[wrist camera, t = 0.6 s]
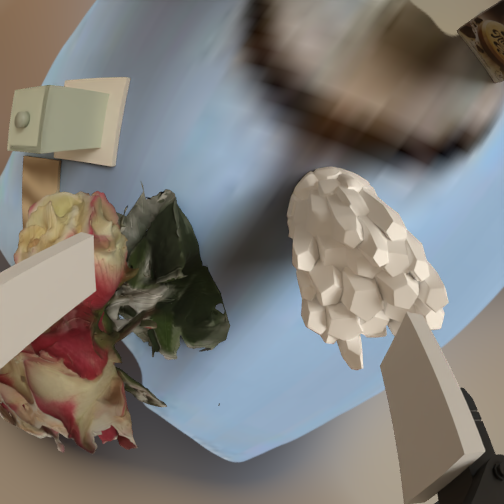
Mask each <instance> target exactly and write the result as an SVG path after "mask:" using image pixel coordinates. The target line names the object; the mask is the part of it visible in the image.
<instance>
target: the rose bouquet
mask: <svg viewBox="0 0 504 504" xmlns="http://www.w3.org/2000/svg"><path fill="white" fill-rule="evenodd" d="M141 184H142V183H141ZM142 187H143V185H142ZM143 191H144V189H143ZM91 195H92V196H90V195H89V193H87V194H86V193H84V192H78V193H77V194H75V195H74V194H71V193H69V192H58V191H56V193H55V194H51V195H46V196H44V197H42V198H41V199H40V200H39V201H38V202H35V203H34V204H33V205H31V206H30V207H29V210H28V221H27V222H26V228H24V229H22V230H21V232H20V233H19V244H18V249H17V251H16V253H14V261H15V263H16V264H17V263H19V262H21V261H23V260H25V259H27V258H29V257H31V256H33V255H35V254H37V253H39V252H41V251H43V250H45V249H47V248H49V247H51V246H53V245H55V244H57V243H59V242H61V241H63V240H65V239H67V238H69V237H71V236H74V235H76V234H78V233H80V232H83V233H87V234H90V235H94V265H95V282H96V291H95V292H94V293H93V294H91V295H90V296H89V297H87V298H86V299H85V300H83V301H82V302H81V303H80V304H78V305H77V306H76V307H74V308H73V309H72V310H71V311H69V312H68V313H67V314H66V315H64V316H63V317H62V318H61V319H59V320H58V321H57V322H56V323H54V324H53V325H52V326H51V327H49V328H48V329H47V330H46V331H44V332H43V333H42V334H41V335H40V336H38V337H37V338H36V339H35V340H34V341H32V342H31V343H30V344H29V345H28V346H26V347H25V348H24V349H23V350H22V351H21V352H19V353H18V354H17V355H16V356H15V357H14V358H13V359H11V360H10V361H9V362H8V363H7V364H6V365H5V366H3V367H2V368H1V369H0V405H1V406H0V415H1V416H2V418H4V420H5V421H7V422H9V423H11V424H13V425H15V426H17V427H19V428H21V429H24V430H25V431H26V432H27V433H30V434H33V435H34V436H36V437H38V438H43V437H45V436H47V437H54V438H55V442H56V443H57V445H58V450H59V451H61V452H64V445H63V444H62V443H61V442H60V441H59V433H60V434H62V435H63V436H65V437H67V438H68V439H70V438H72V439H74V441H75V442H76V444H77V445H79V446H80V447H81V448H82V449H84V450H86V451H87V452H89V453H91V454H94V453H95V451H96V450H95V449H96V448H97V445H96V443H95V442H94V440H95V438H94V436H96V435H98V436H99V437H100V439H101V440H102V443H103V444H104V443H106V442H107V441H111V440H114V439H118V441H119V444H120V446H122V447H124V448H125V449H130V448H138V447H137V445H136V444H135V441H134V439H133V436H132V435H133V431H132V428H131V425H132V422H131V418H130V413H129V410H128V408H127V403H126V396H125V390H126V391H128V392H130V393H132V394H133V395H134V396H135V397H136V398H137V399H138V400H140V401H142V402H144V403H147V404H150V405H154V406H158V407H167V405H166V404H165V403H164V402H162V401H160V400H159V399H157V398H156V396H155V395H154V394H152V393H151V392H150V391H149V390H148V389H147V388H145V387H144V386H143V385H142V384H140V383H139V382H137V381H135V380H134V379H132V378H131V377H130V376H128V375H127V374H126V373H125V372H124V371H123V370H121V369H120V368H117V367H115V365H114V363H122V361H121V357H120V355H119V353H118V352H117V350H116V349H115V347H114V345H115V344H116V342H118V341H120V340H122V339H123V338H125V337H126V336H127V335H129V334H130V333H131V332H132V331H133V332H134V333H135V334H136V335H137V336H138V337H139V338H141V339H142V341H143V342H149V343H148V344H149V346H152V357H154V353H155V351H156V352H158V351H159V352H160V353H161V354H163V356H164V357H165V359H168V360H171V359H174V360H175V359H177V356H176V353H177V350H178V348H179V346H180V341H179V339H180V336H182V339H184V342H185V344H186V345H187V347H189V348H192V349H195V348H201V347H205V349H203V350H200V351H206V350H207V351H208V350H212V349H213V348H214V347H216V346H217V345H218V344H219V343H220V342H223V341H225V340H226V338H227V333H228V330H229V328H230V324H229V321H228V317H227V314H226V311H225V312H224V314H222V313H221V312H219V311H218V310H217V309H215V306H216V305H217V304H219V303H222V304H223V301H222V297H221V293H220V291H219V290H218V288H217V286H216V284H215V282H214V281H213V279H212V277H211V275H210V273H209V271H208V267H206V266H202V261H201V258H200V253H199V245H198V242H197V239H196V237H195V234H194V231H193V228H192V226H191V224H190V222H189V220H188V219H187V217H186V216H185V215H184V213H183V212H182V211H181V209H180V208H179V206H178V205H177V200H176V197H175V194H174V193H173V192H172V191H171V190H167V189H166V190H165V191H164V192H159V194H158V195H157V196H153V197H151V198H148V199H147V200H146V197H145V195H144V192H143V193H142V195H141V196H140V198H139V199H138V201H137V202H136V204H135V205H134V207H133V208H132V209H131V211H130V212H129V214H128V215H127V216H124V215H122V214H119V213H117V212H116V211H115V208H114V207H113V205H112V204H111V203H109V202H108V200H107V198H106V196H105V194H104V193H100V192H98V191H96V192H94V193H93V194H91ZM127 207H128V205H127V206H126V208H125V211H124V214H125V212H126V210H127ZM147 229H148V230H147ZM146 230H147V231H146ZM223 307H224V304H223ZM224 310H225V308H224ZM119 314H120V315H121V316H123V317H124V318H125V319H120V318H119ZM142 328H143V329H142ZM200 351H199V352H200ZM219 405H220V403H219ZM219 405H218V406H219ZM9 412H10V413H11V415H12V417H11V416H10V415H9ZM58 432H59V433H58Z"/></svg>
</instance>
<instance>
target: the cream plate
mask: <svg viewBox="0 0 504 504" xmlns="http://www.w3.org/2000/svg"><path fill="white" fill-rule="evenodd" d="M130 79H131V78H128V77H113V78H91V79H77V80H66V81H65V85H64V87H70V88H77V89H84V90H90V91H96V92H102V93H108V94H109V99H108V104H107V110H106V115H105V121H104V127H103V134H102V141H101V148H89V149H77V150H67V151H58V152H54V158H59V159H66V160H73V161H80V162H87V163H93V164H99V165H105V166H111V167H112V166H115V165H116V157H117V150H118V143H119V136H120V130H121V124H122V118H123V113H124V107H125V102H126V97H127V92H128V88H129V83H130Z"/></svg>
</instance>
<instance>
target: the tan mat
mask: <svg viewBox="0 0 504 504" xmlns="http://www.w3.org/2000/svg"><path fill="white" fill-rule="evenodd" d="M60 171H61V161H60V160H53V159H46V158H39V157H31V156H24V158H23V179H22V213H23V229H24V228H26V222H27V221H28V210H29V207H30V206H31V205H33V204H34V203H35V202H38V201H39V200H40V199H41V198H42V197H44V196H46V195H51V194H55V193H56V191H58V192H59V188H60Z"/></svg>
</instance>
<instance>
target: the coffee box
mask: <svg viewBox="0 0 504 504" xmlns="http://www.w3.org/2000/svg"><path fill="white" fill-rule="evenodd" d="M457 33H458V34H459V35H460V36H461V37H462V39H463V40H464V41H465V42H466V43H467V45H468V46H469V47H470V49H471V50H472V51H473V53H474V54H475V55H476V57H477V58H478V59H479V61H480V62H481V63H482V65H483V66H484V68H485V69H486V71H487V72H488V74H489V75H490V76H491V78H492V80H493V81H494V83H498V82H502V81H504V0H501V1H499V2H498V3H496V4H495V5H493V6H491V7H490V8H488V9H487V10H485V11H484V12H482V13H481V14H479V15H478V16H476V17H475V18H473V19H472V20H470V21H469V22H468V23H466V24H465V25H463V26H462V27H460V28H459V29H458V30H457Z"/></svg>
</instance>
